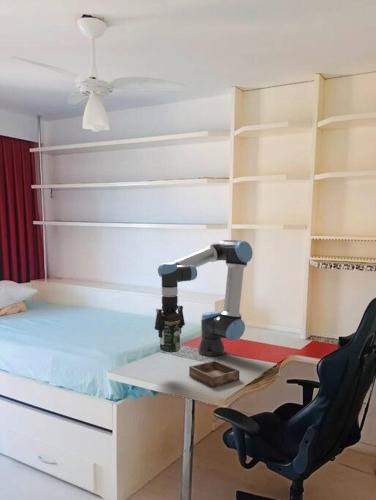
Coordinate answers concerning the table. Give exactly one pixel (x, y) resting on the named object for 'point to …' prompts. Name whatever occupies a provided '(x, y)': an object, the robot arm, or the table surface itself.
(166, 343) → the coffee jar
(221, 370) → the walnut tray
